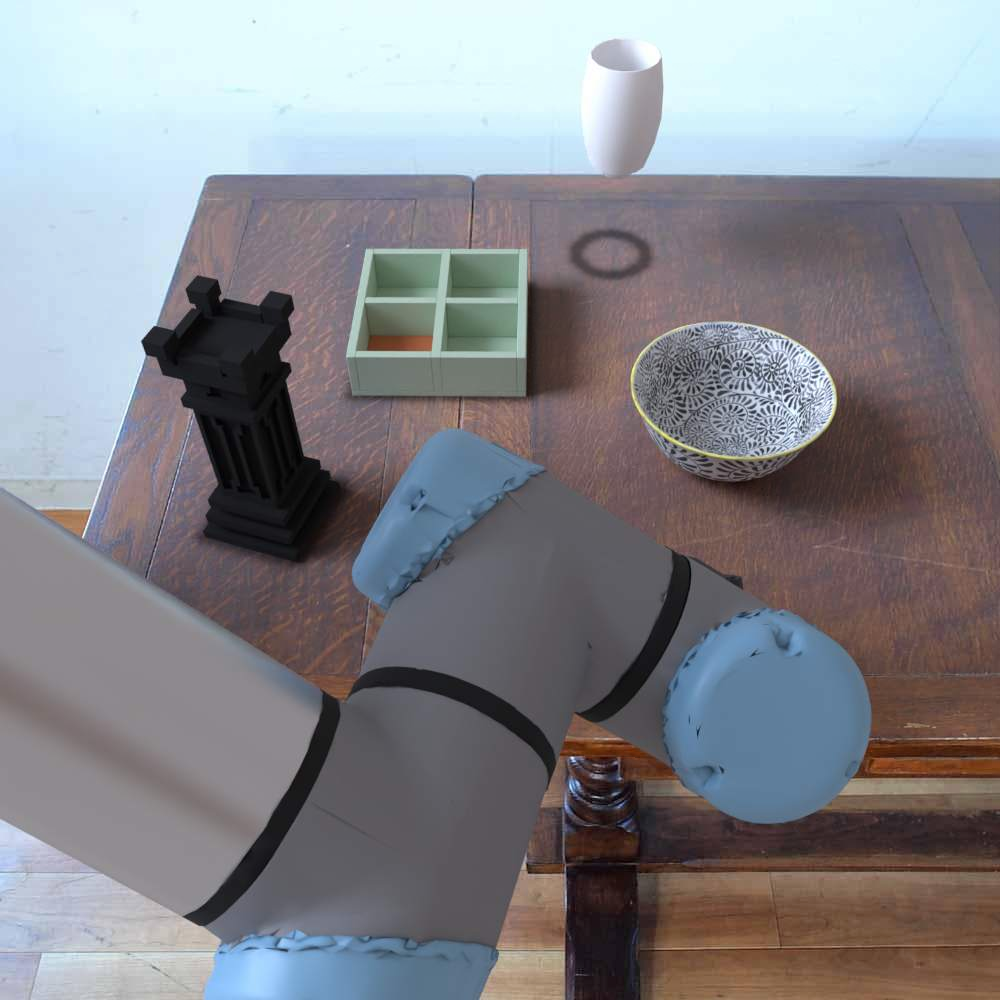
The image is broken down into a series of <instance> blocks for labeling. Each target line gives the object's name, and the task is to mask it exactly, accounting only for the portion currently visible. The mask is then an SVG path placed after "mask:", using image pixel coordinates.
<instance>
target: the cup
mask: <svg viewBox="0 0 1000 1000" xmlns="http://www.w3.org/2000/svg"><path fill="white" fill-rule="evenodd" d="M663 70H664V69H663V57H662V54H661V50H660V49H659V48H658V47H656V46H655V45H654V43H652V42H648V41H646V40H643V39H638V38H632V37H617V38H616V37H615V38H609V39H607V40H602V41H601V42H598V43H596V44H595V45H594V46H593V47H592V49H591V50H590V52H589V54H588V58H587V64H586V68H585V73H584V78H583V82H582V94H581V106H580V117H581V126H582V135H583V143H584V146H585V150H586V153H587V157H588V161H589V164H590V166H591V167H593V169H595V170H596V171H598V172H600V173H601V174H603V175H604V176H605V177H606V178H608V179H612V180H623V179H626V178H628V177H629V176H632V174H635V173H637V172H639V171H640V170H642V169H643V168H644V167H645V165H646V163H647V161H648V159H649V156H650V154H651V152H652V150H653V147H654V145H655V143H656V140H657V136H658V132H659V129H660V125H661V121H662V116H663V103H664V102H663V101H664V72H663Z"/></svg>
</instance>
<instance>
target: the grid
mask: <svg viewBox="0 0 1000 1000" xmlns="http://www.w3.org/2000/svg"><path fill="white" fill-rule="evenodd" d="M528 296H529V249H528V248H366V249H365V252H364V258H363V264H362V269H361V275H360V280H359V285H358V291H357V296H356V302H355V306H354V311H353V318H352V322H351V324H352V325H351V327H350V333H349V337H348V338H349V340H348V344H347V349H346V354H345V355H346V356H345V357H346V358H345V359H346V365H347V370H348V377H349V383H350V388H351V393H352V396H355V397H356V396H357V397H359V396H362V397H363V396H364V397H367V396H369V397H370V396H371V397H384V396H385V397H511V398H512V397H514V398H515V397H516V398H517V397H519V398H520V397H527V367H528V366H527V361H528V360H527V358H528V300H529V299H528V298H529V297H528Z"/></svg>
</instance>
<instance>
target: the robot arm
mask: <svg viewBox="0 0 1000 1000" xmlns="http://www.w3.org/2000/svg"><path fill="white" fill-rule="evenodd" d="M351 577H352V582H353V584H354V586H355V589H357V590H358V591H359V592H360V593H361V594H362V595H364V596H365V597H367V598H368V599H370V600H371V601H372V602H374V603H375V604H376V605H377V609H378V610H380V611H382V612H384V613H385V614H386V615H385V617H384V619H383V621H382V623H381V626H380V628H379V630H378V633H377V635H376V636H375V639H374V641H373V643H372V646H371V648H370V651H369V652H368V655H367V656H366V658H365V661H364V663H363V666H362V668H361V670H360V672H359V675H358V677H357V679H356V680H355V681H354V683H352V686H351V688H350V691H349V693H348V695H347V698H346V699H345V701H343V700H342V699H340V698H336V697H335V696H333V695H332V694H330V693H328V692H327V691H325V690H323V689H322V688H319V687H318V686H317V685H316V684H314V683H312V682H311V681H309V680H308V679H306V678H305V677H303V676H301V675H300V674H298V673H296V672H295V671H294V670H292V669H291V668H289V667H288V666H286V665H285V664H283V663H281V662H279V661H278V660H276V659H274V658H273V657H271V656H270V655H268V654H267V653H265V652H263V651H262V650H260V649H259V648H257V647H256V646H254V645H253V644H251V643H250V642H248V641H246V640H245V639H244V638H242V637H240V636H238V634H237V635H236V634H235V633H234V632H232V631H230V630H229V629H227V628H226V627H224V626H222V625H221V624H220V623H217V621H215V620H213V619H212V618H210V617H208V616H207V615H205V614H204V613H203V612H200V611H199V610H197V609H196V608H194V607H192V606H191V605H189V604H188V603H186V602H185V601H183V600H181V599H180V598H179V597H177V596H175V595H174V594H172V593H170V592H169V591H167V590H166V589H164V588H162V587H161V586H159V585H158V584H156V583H155V582H153V581H152V580H150V579H149V578H147V577H145V576H144V575H142V574H141V573H139V572H137V571H135V570H134V569H133V568H131V567H129V566H128V565H126V564H125V563H123V562H121V561H119V560H118V559H117V558H115V557H113V556H112V555H110V554H109V553H107V552H106V551H104V550H102V549H101V548H99V547H98V546H96V545H95V544H93V543H91V542H90V541H88V540H87V539H85V538H84V537H82V536H81V535H78V534H77V533H76V532H74V531H72V530H71V529H69V528H68V527H66V526H65V525H63V524H61V523H59V522H58V521H57V520H55V519H54V518H52V517H50V516H48V515H47V514H45V513H44V512H42V511H41V510H39V509H37V508H36V507H34V506H33V505H31V504H30V503H28V502H26V501H25V500H23V499H22V498H20V497H19V496H17V495H15V494H14V493H13V492H11V491H9V490H7V489H6V488H5V487H3V486H1V485H0V820H1V821H3V822H5V823H7V824H9V825H10V826H13V827H14V828H16V829H17V830H20V831H22V832H23V833H25V834H27V835H29V836H30V837H32V838H35V839H37V840H38V841H40V842H42V843H44V844H46V845H47V846H50V847H51V848H54V849H56V850H57V851H59V852H61V853H63V854H65V855H66V856H69V857H71V858H72V859H75V860H76V861H77V862H80V863H81V864H83V865H85V866H87V867H89V868H91V869H93V870H95V871H96V872H99V873H100V874H101V875H104V876H106V877H107V878H109V879H111V880H113V881H114V882H117V883H118V884H121V885H122V886H124V887H126V888H128V889H130V890H132V891H134V892H135V893H137V894H139V895H141V896H143V897H145V898H147V899H148V900H150V901H152V902H154V903H156V904H158V905H160V906H162V907H164V908H165V909H167V910H169V911H171V912H173V913H175V914H176V915H179V916H180V917H181V918H184V919H185V920H186V921H189V922H191V923H192V924H195V925H196V926H198V927H202V928H204V929H205V930H207V931H208V932H210V933H211V934H212V935H214V936H215V937H217V938H218V939H219V940H220V942H219V945H218V946H217V949H216V951H215V952H214V954H213V961H214V963H213V964H214V965H213V969H212V971H211V973H210V976H209V977H208V980H207V982H206V985H205V988H204V993H203V1000H480V998H481V996H482V994H483V992H484V989H485V987H486V984H487V982H488V980H489V977H490V975H491V972H492V970H493V969H494V968H495V966H496V964H497V963H498V961H499V956H500V952H499V949H497V947H498V943H499V940H500V936H501V933H502V930H503V927H504V925H505V920H506V918H507V914H508V911H509V909H510V905H511V903H512V902H511V901H512V898H513V895H514V892H515V889H516V886H517V883H518V880H519V876H520V873H521V870H522V868H523V864H524V860H525V858H526V854H527V851H528V848H529V844H530V841H531V838H532V835H533V832H534V829H535V826H536V822H537V820H538V816H539V813H540V809H541V806H542V803H543V801H544V797H545V794H546V792H547V791H548V790H549V787H550V784H551V781H552V777H553V775H554V773H555V771H556V768H557V765H558V761H559V759H560V756H561V752H562V750H563V747H564V744H565V741H566V738H567V735H568V733H569V729H570V727H571V723H572V720H573V717H574V714H575V715H577V716H578V717H580V718H582V719H583V720H585V721H587V722H589V723H592V724H594V725H596V726H598V727H600V728H601V729H603V730H605V731H606V732H609V733H610V734H612V735H614V736H616V737H618V738H619V739H621V740H623V741H625V742H626V743H628V744H630V745H631V746H634V747H635V748H637V749H638V750H640V751H643V752H644V753H646V754H648V755H649V756H651V757H653V758H655V759H657V760H658V761H659V762H661V763H663V764H665V765H666V766H668V767H669V768H670V770H671V772H672V773H673V774H674V775H677V776H678V778H679V783H680V784H681V786H682V787H684V788H685V789H686V790H688V791H689V792H691V793H693V794H694V795H696V796H698V797H699V798H702V799H704V800H706V802H708V803H709V804H710V805H712V806H713V807H714V808H715V809H717V810H718V811H720V812H722V813H724V814H725V815H727V816H730V817H732V818H735V819H737V820H740V821H744V822H746V823H747V822H748V823H753V824H761V825H765V824H766V825H772V824H783V823H788V822H792V821H797V820H799V819H803V818H805V817H807V816H809V815H812V814H815V813H816V812H818V811H820V810H821V809H823V808H824V807H825V806H826V805H828V804H829V803H831V802H833V801H834V800H835V799H837V797H838V796H839V795H840V794H841V793H842V792H843V790H844V789H845V788H846V786H847V785H848V784H849V783H850V781H851V780H852V779H853V777H854V776H855V775H856V774H857V773H858V772H859V768H860V765H861V763H862V762H863V759H864V757H865V755H866V752H867V749H868V746H869V743H870V737H871V730H872V706H871V701H870V695H869V691H868V688H867V684H866V681H865V678H864V676H863V674H862V672H861V670H860V668H859V667H858V664H857V663H856V662H855V660H854V659H853V657H852V656H851V655H850V653H848V651H846V649H845V648H844V647H842V646H841V644H840V643H838V642H837V641H836V640H834V639H833V638H831V637H830V636H828V635H827V634H826V633H824V632H823V631H822V630H821V629H820V628H819V627H818V626H817V625H816V624H814V623H812V622H808V621H805V620H804V619H803V618H802V617H801V616H800V615H798V614H797V613H795V612H792V611H789V610H787V609H784V608H781V609H777V608H775V607H773V606H772V605H769V604H768V603H766V602H765V601H762V600H760V598H757V597H756V596H754V595H752V594H751V593H749V592H747V591H745V590H744V583H743V577H742V576H738V575H735V574H725V573H722V571H719V570H718V569H715V568H714V567H712V566H711V565H709V564H708V563H706V562H704V561H702V560H700V559H699V558H697V557H692V556H689V555H685V554H681V553H679V552H677V551H675V550H673V549H672V548H670V547H669V546H666V545H663V544H661V543H660V542H658V541H657V540H655V539H653V538H652V537H650V536H648V534H645V533H644V532H642V531H641V530H639V529H638V528H636V527H634V526H632V525H631V524H629V523H628V522H626V521H624V520H623V519H621V518H619V517H618V516H616V515H615V514H613V513H612V512H610V511H609V510H606V508H604V507H602V506H600V505H599V504H597V503H596V502H594V501H593V500H591V499H590V498H588V497H587V496H585V495H584V494H582V493H580V492H579V491H577V490H575V488H572V487H571V486H569V485H568V484H566V483H565V482H563V481H562V480H560V479H558V478H556V477H555V476H554V475H552V474H551V473H549V472H548V470H547V468H546V467H545V466H543V465H541V464H539V463H534V462H532V461H530V460H528V459H526V458H524V457H522V456H520V455H518V454H516V453H515V452H513V451H511V450H509V449H507V448H506V447H503V446H502V445H499V444H498V443H496V442H494V441H491V440H490V441H489V440H487V439H485V438H484V437H481V436H479V435H477V434H475V433H472V432H471V431H469V430H466V429H463V428H457V427H456V428H455V427H450V428H446V429H442V430H440V431H438V432H436V433H434V434H433V435H432V436H430V437H429V438H428V439H427V440H426V441H425V442H424V443H423V445H422V446H421V447H420V449H419V450H418V451H417V453H416V454H415V456H414V458H413V459H412V460H411V462H410V463H409V465H408V466H407V468H406V469H405V471H404V472H403V474H402V476H401V477H400V479H399V481H398V482H397V484H396V485H395V487H394V489H393V491H392V492H391V494H390V496H389V497H388V499H387V501H386V503H385V504H384V506H383V507H382V509H381V511H380V513H379V515H378V516H377V518H376V520H375V522H374V523H373V525H372V527H371V529H370V530H369V532H368V534H367V536H366V538H365V540H364V542H363V544H362V546H361V548H360V552H359V554H358V555H357V556H356V558H355V561H354V563H353V566H352V569H351Z"/></svg>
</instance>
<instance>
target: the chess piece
mask: <svg viewBox="0 0 1000 1000" xmlns="http://www.w3.org/2000/svg"><path fill="white" fill-rule="evenodd" d="M185 293H186V296H187V300H188V302H189V304H191V305H194V306H195V307H191V308H190V310H189V311H188V312H187V313H186V314H185V315H184V317H182V319H181V320H180V321H179V322H178V324H177V325H176V326H175V327H174V329H170V328H167V327H162V326H157V325H153V326H152V327H151V329H150V330H149V331H148V332H147V333H146V335H145V336H144V337H143V338H142V339H141V340H140V342H141V345H142V349H143V351H144V354H145V356H148V357H152V358H155V359H156V361H157V363H158V366H159V369H160V371H161V374H162V376H165V377H168V378H172V379H177V380H181V381H182V382H183V385H184V387H185V392H184V393H183V394H182V396H181V397H180V402H181V405H182V407H183V408H185V409H186V408H187V409H190V410H192V411H193V414H194V417H195V420H196V423H197V426H198V428H199V432H200V434H201V436H202V438H201V439H202V440H203V443H204V446H205V449H206V452H207V454H208V459H209V461H210V464H211V467H212V469H213V472H214V475H215V478H216V481H217V485H216V487H215V488H214V490H213V491H212V492H211V494H210V495H209V497H208V498H207V502H208V505H209V507H210V508H209V509H208V510H207V512H206V514H205V519H206V522H207V525H206V526H205V527H204V529H203V531H202V532H203V535H204V537H205V538H207V539H209V540H214V541H217V542H221V543H224V544H229V545H231V546H236V547H239V548H243V549H246V550H249V551H253V552H257V553H261V554H264V555H268V556H272V557H275V558H279V559H283V560H286V561H290V562H292V563H293V562H294V563H298V561H299V560H300V558H301V556H302V555H303V552H305V550H306V547H307V546H308V544H309V542H310V541H311V539H312V537H313V536H314V534H315V532H316V531H317V529H318V527H319V525H320V523H321V522H322V520H323V518H324V517H325V515H326V514H327V512H328V510H329V508H330V506H331V505H332V503H333V502H334V499H335V498H336V496H337V495H338V493H339V491H340V489H341V485H340V481H336V480H333V479H331V478H332V476H331V471H330V470H327V469H321V468H322V464H321V460H320V459H318V458H313V457H310V456H306V455H305V454H304V450H303V446H302V442H301V438H300V437H301V436H300V434H299V429H298V425H297V420H296V417H295V412H294V409H293V404H292V400H291V395H290V392H289V387H288V383H287V379H288V378H289V377H290V375H291V374H292V372H293V371H292V370H293V369H292V365H291V363H290V362H287V361H283V360H282V358H281V354H280V352H281V350H282V349H283V348H284V347H285V345H286V343H287V342H288V341H289V339H290V338H291V336H293V334H292V329H291V324H290V321H289V319H290V316H291V315H292V314H293V312H295V310H296V309H295V304H294V299H293V295H292V294H288V293H283V292H278V291H274V290H269V291H268V293H267V294H266V295H265V296H264V298H263V299H262V300H261V302H260V303H259V304H258V305H257V304H253V303H248V302H243V301H239V300H234V299H229V298H225V297H224V298H223V299H222V300H221V299H220V296H221V295H223V293H222V289H221V285H220V282H219V279H217V278H212V277H209V276H203V275H199V274H196V275H195V277H194V278H193V279H192V280H191V282H189V284H188V285H187V286H186V288H185Z"/></svg>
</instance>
